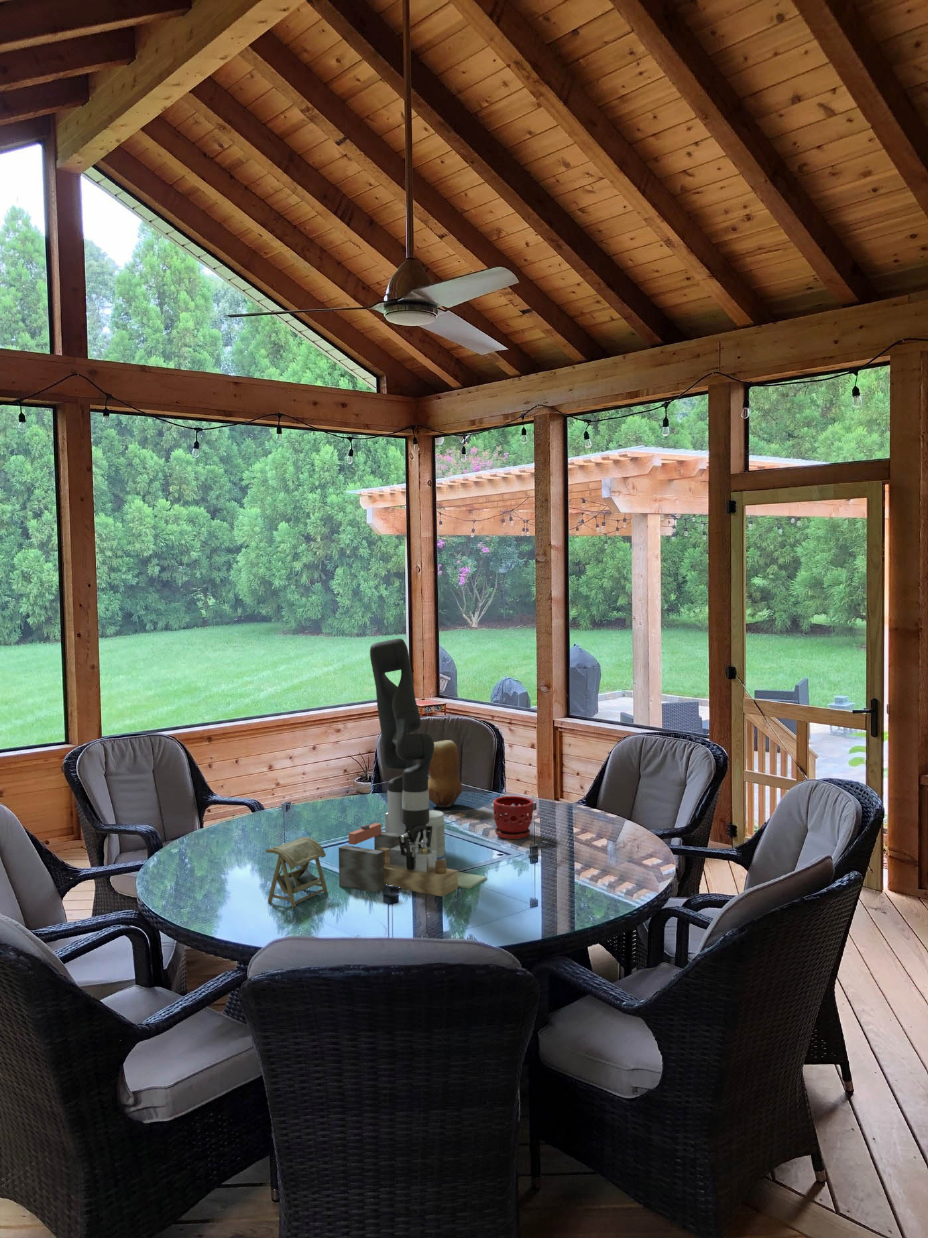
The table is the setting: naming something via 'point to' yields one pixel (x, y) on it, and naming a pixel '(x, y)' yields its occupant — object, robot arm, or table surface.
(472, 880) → the mat
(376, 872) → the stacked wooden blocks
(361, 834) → the latch bar
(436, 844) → the supplement tub
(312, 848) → the swing bench
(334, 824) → the table surface
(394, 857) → the block with brass knob
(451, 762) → the butternut squash
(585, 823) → the table surface
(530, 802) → the plant pot
